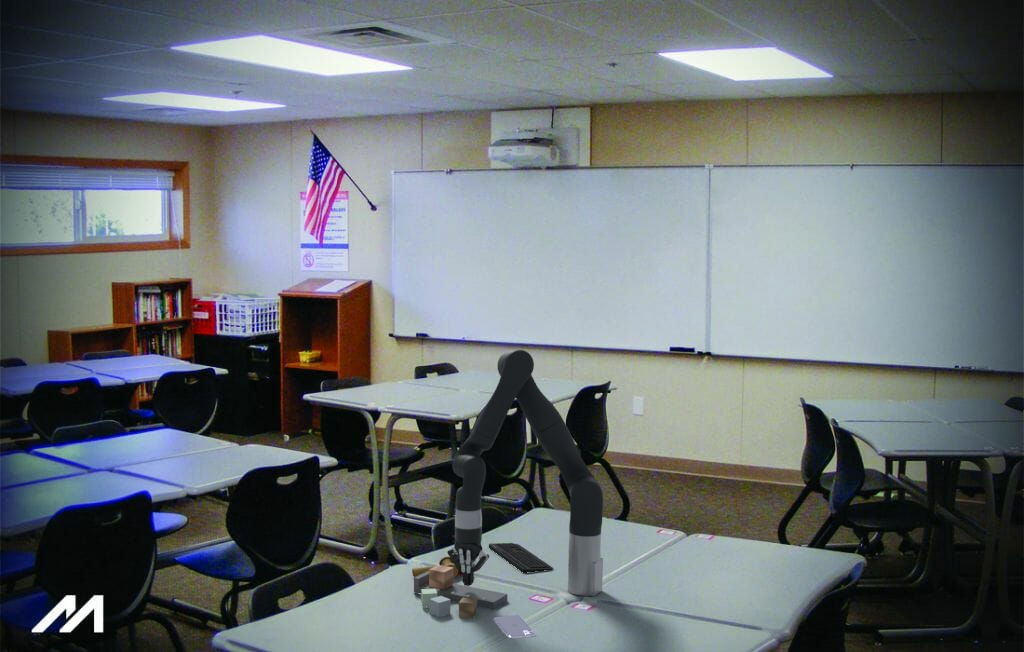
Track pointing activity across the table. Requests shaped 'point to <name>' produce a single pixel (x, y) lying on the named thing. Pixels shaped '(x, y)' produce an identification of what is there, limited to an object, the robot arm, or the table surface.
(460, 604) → the cube walnut
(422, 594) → the cube sage
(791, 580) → the table surface
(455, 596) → the rail board
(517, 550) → the keyboard
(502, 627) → the mobile phone
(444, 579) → the slider
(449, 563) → the kendama
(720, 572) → the table surface
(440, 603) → the cube slate
